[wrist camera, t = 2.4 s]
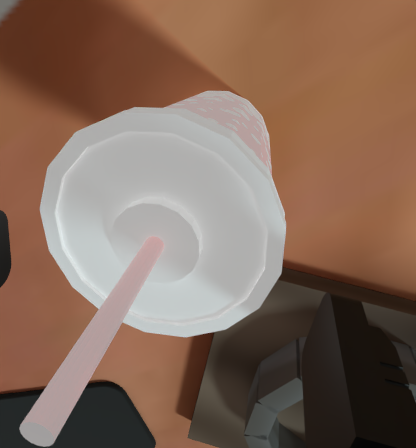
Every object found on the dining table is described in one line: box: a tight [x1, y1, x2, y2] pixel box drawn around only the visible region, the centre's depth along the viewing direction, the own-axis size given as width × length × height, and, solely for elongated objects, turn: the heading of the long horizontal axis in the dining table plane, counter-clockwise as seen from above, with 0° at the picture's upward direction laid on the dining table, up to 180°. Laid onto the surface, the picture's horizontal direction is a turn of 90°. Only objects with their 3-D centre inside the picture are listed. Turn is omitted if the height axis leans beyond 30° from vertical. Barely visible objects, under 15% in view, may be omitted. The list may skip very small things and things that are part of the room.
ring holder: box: [188, 267, 416, 448], centre depth 21 cm, size 14×16×4 cm
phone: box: [0, 382, 156, 448], centre depth 29 cm, size 7×1×15 cm
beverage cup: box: [20, 91, 286, 447], centre depth 11 cm, size 6×6×14 cm
